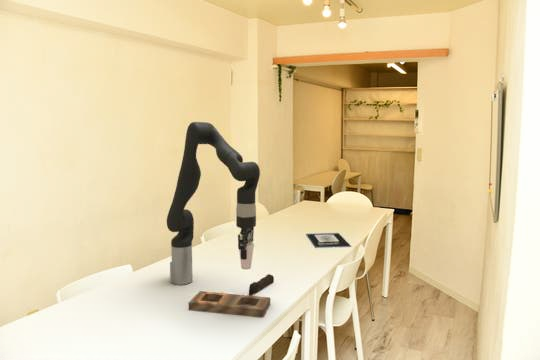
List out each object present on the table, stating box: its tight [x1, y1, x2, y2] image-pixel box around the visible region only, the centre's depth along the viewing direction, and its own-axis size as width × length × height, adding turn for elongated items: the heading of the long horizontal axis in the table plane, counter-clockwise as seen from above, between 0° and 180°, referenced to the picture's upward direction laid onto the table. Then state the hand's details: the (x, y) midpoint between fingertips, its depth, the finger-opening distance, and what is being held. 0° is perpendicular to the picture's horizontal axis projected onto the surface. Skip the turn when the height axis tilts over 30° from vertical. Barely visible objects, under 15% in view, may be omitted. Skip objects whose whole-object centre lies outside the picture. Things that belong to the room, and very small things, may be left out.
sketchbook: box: [305, 232, 352, 249], centre depth 275 cm, size 22×30×2 cm
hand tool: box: [248, 274, 275, 296], centre depth 196 cm, size 19×4×5 cm, turn 149°
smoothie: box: [238, 241, 255, 270], centre depth 172 cm, size 6×6×14 cm
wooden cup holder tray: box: [188, 290, 271, 318], centre depth 176 cm, size 30×12×3 cm, turn 77°
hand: (246, 256), depth 172 cm, fingers closed on smoothie, 6 cm apart
